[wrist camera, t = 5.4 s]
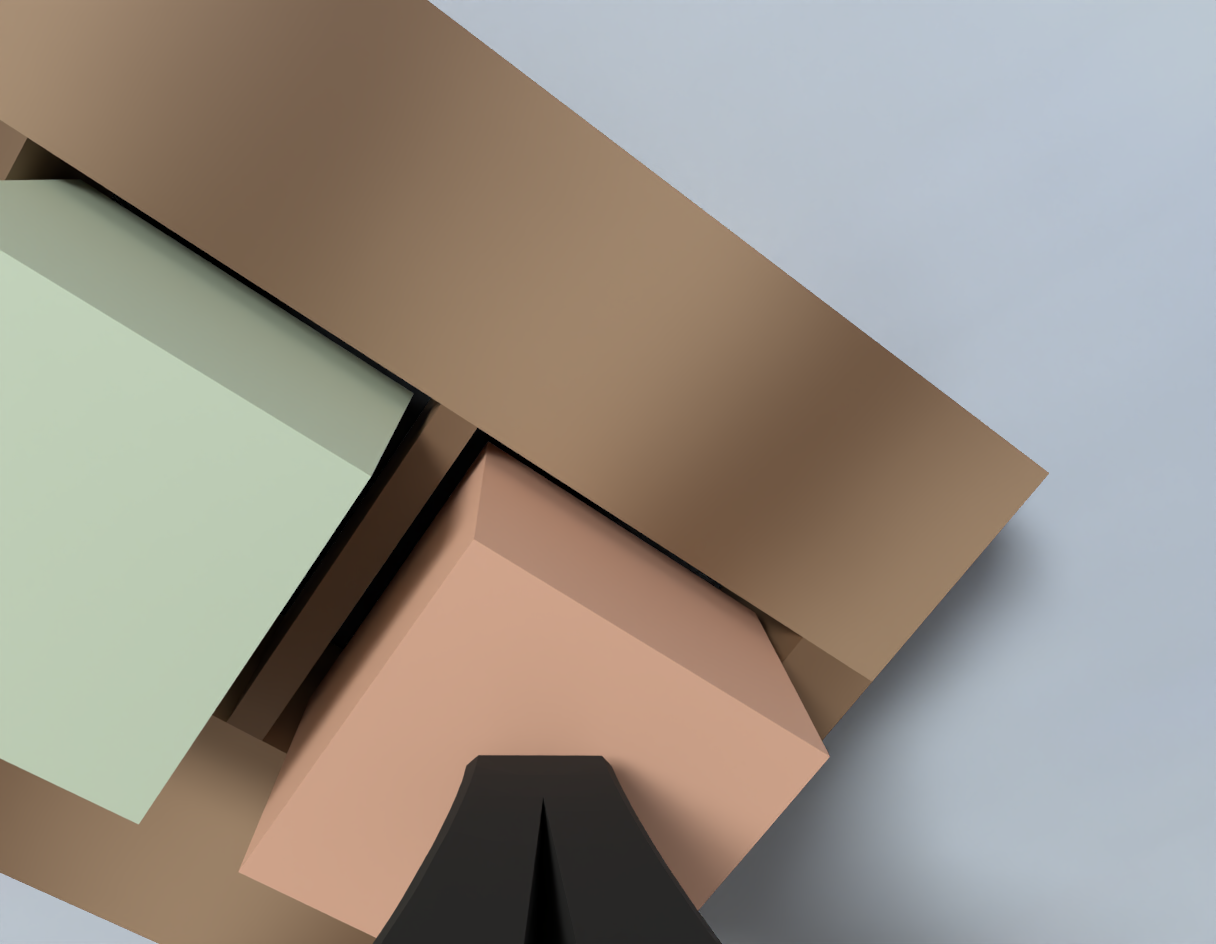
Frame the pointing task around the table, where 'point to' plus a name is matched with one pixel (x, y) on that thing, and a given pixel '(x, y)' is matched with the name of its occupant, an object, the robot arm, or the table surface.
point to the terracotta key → (533, 699)
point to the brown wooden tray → (478, 375)
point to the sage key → (152, 484)
